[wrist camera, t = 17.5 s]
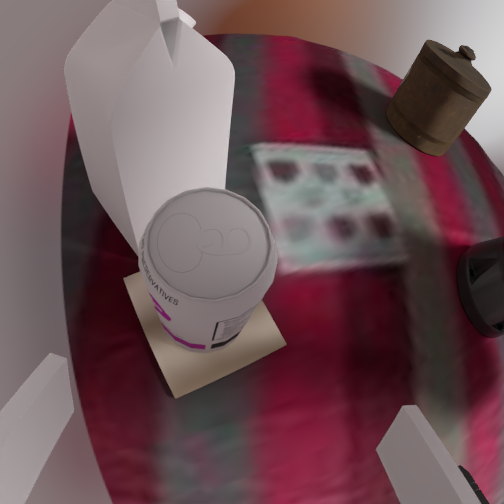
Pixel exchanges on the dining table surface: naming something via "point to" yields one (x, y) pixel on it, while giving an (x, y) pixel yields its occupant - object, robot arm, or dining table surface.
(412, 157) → the dining table surface
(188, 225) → the supplement can
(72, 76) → the milk
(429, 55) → the wooden container
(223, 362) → the beige cloth
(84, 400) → the dining table surface
